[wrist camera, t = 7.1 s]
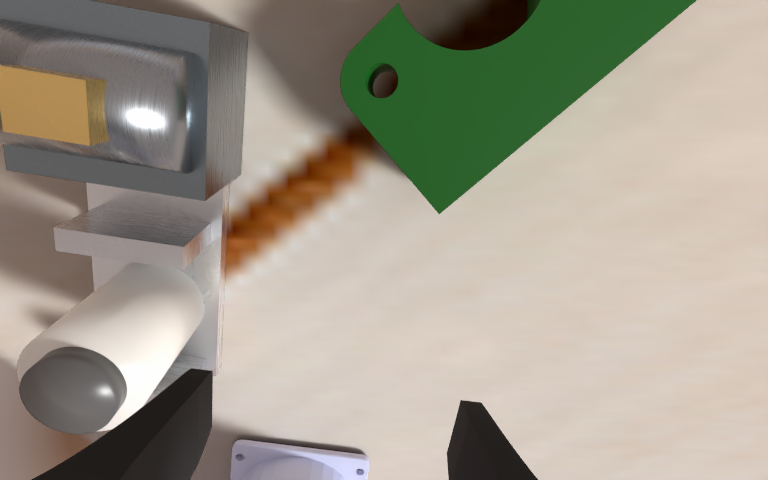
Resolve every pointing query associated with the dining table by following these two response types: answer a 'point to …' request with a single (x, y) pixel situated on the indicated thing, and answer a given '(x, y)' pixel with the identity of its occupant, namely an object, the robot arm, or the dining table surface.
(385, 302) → the dining table surface
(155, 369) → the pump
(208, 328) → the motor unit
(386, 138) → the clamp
